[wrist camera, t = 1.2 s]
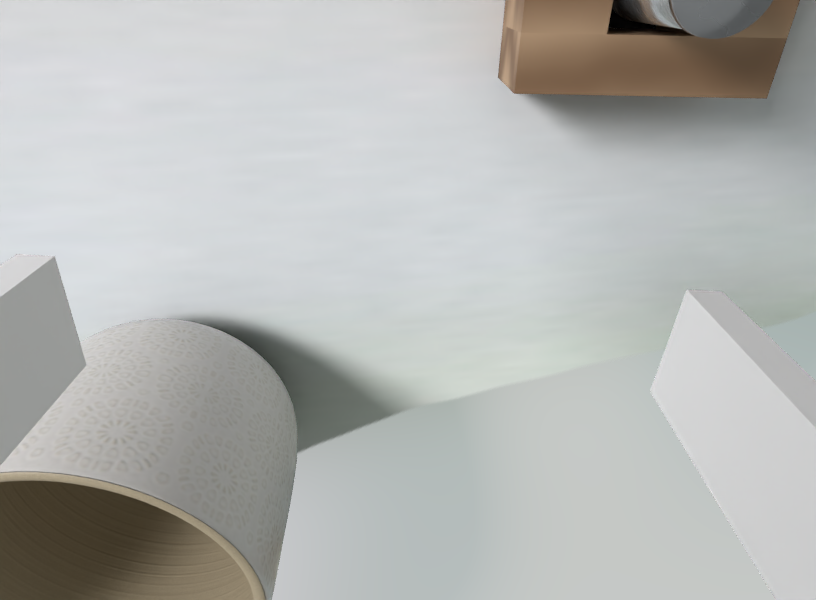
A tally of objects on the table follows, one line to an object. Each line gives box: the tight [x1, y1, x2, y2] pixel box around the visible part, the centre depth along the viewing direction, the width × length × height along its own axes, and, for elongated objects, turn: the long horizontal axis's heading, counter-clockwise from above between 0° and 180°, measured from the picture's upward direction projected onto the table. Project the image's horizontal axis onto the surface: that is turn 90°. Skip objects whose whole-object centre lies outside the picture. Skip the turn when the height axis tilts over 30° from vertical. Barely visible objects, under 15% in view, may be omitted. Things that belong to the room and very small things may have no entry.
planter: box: [0, 319, 298, 600], centre depth 39 cm, size 21×21×19 cm
